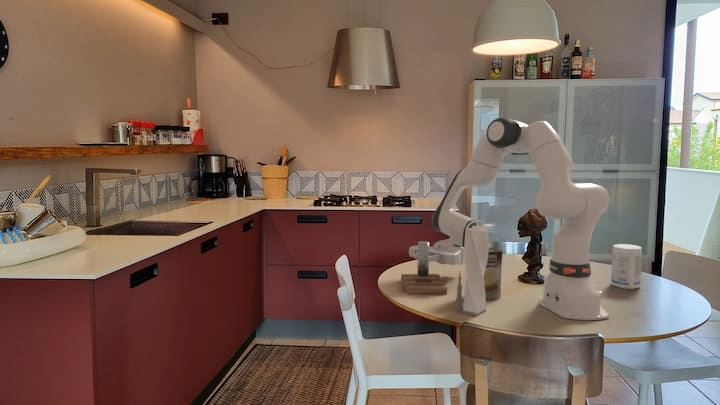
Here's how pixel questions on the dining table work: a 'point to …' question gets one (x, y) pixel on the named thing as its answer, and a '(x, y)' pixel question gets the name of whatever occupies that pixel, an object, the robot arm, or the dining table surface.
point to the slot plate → (423, 284)
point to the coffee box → (493, 274)
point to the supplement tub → (626, 266)
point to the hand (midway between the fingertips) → (421, 257)
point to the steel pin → (423, 259)
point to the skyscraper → (474, 271)
